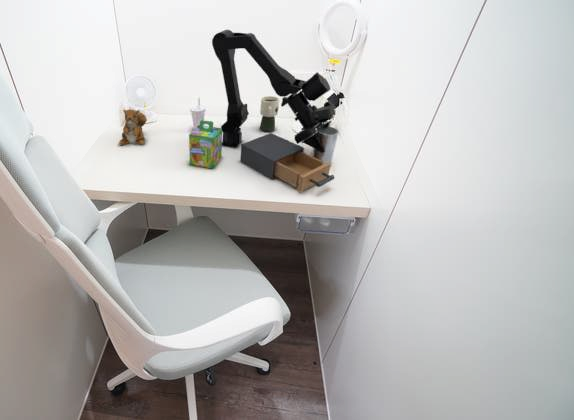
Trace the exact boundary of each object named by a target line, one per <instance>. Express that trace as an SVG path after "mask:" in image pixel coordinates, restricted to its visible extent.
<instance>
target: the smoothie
mask: <svg viewBox="0 0 574 420" xmlns="http://www.w3.org/2000/svg"><path fill="white" fill-rule="evenodd" d="M197 101H198V103H197V104H198V105H193V106H191V107H190V108H189V111H190V113H191V118H192V119H191V120H192V125H193V130H194V129H195V128H196V127H197V126H198V125H200V121H201V120H203V121H205V116H206V115H205V114H206V111H207V109H206V106H204V105H201V99H200V97H198V99H197Z"/></svg>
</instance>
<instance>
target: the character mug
mask: <svg viewBox="0 0 574 420" xmlns="http://www.w3.org/2000/svg"><path fill="white" fill-rule="evenodd" d="M279 106H280V98H279V97H277V96H272V95H267V96H262V97H261V101H260V111H259V114H260V115H261V120H260V125H259V130H262V131H265V132H274V131H275V130H276V116H278V114H279V108H280V107H279Z"/></svg>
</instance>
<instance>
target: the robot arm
mask: <svg viewBox="0 0 574 420" xmlns="http://www.w3.org/2000/svg"><path fill="white" fill-rule="evenodd" d="M211 45H212V48H213V51H214V54H215V57H216V58H217V59H218V61H219V62H220V65H221V72H222V77H223V82H224V88H225V94H226V98H227V109H226V121H225V122H224V123H223V124H222V125H221V126H220V128H221V129H222V146H223V147H229V148H235V149H237V148H238V147H239V146H240V144H242V142H243V140H242V139H243V132H242V127H241V126H242V125H243V124H244V123H246V121H247V120H248V116H249V115H250V112H249V110H248V103H243V101H242V99H241V93H240V87H239V82H238V75H237V69H236V63H235V56H236V55H235V54H236V50H237V49H239V50H240V49H244V50H245V51H246V52H247V53H248V54H249V56H250V57H251V58H252V59H253V61H254V62H255V63H257V65H258V66H259V68H261V70H262V71H263V73H264V74H265V75H266V76H267V77H268V81H269V82H270V86H271V87H272V89H273V91H274V92H275V94H276V95H277V96H278V97H282V98H281V105H280V106H281V107H282V108H283V107H285V106H286V105H288V106H289V108H290V110H291V111H292V113H293V114H294V116H295V117H294V121H295V122H297V121H298V122H299V124H300V125H301V126H302V128H301V129H300V131H299V132H297V133H296V134H295V135H294V139H293V140H294V141H295V144H297V145H299V144H300V143H301V144H304V145H306V146H308V147H311V148H312V149H313V148H314V149H316V150H318V151H319V152H321V153H324V152H325V150H324V147H323V145H322V143H321V141H320V139H319V137H318V136H319V131H318V132H316V131H317V128H319V127H323V126H328V127H331V123H332V119H333V118H334V116H335V115H336V110H335V109H336V108H337V106H336V105H335V103H333V102H332V101H331V100H329V101H326V102H324V104H323V106H321V107H318V106H316V105H314V104H313V105H311V103H310V102H315V101H317V100H318V99H320V98H321V97H323V95H325V94H327V93H328V92H330V91H331V86H330V82H328V80H327V79H326V78H324V76H322V75H321V74H320V73H319V71H318V72H315V73H314V74H313V75H312V76H311V77H310V78H309V79H307V80H302V79H299V78H296V77H295V76H294V75H293V74H292V73H291V72H289V71H288V70H287V69H285V68H283V67H281V66H280V65H279V64H278V63H277V62H276V61H275V59H274V58H273V56H272V55H271V54H270V52H268V51H267V49H266V48H265V47H264V46H263V45H262V43H261V41H259V40H258V39H257V37H256V35H255V34H254V33H252V32H248V33H245V32H234V31H232V30H231V29H224V30H221V31H219V32H218V33H216V34H215V35H214V36H213V37H212V39H211Z"/></svg>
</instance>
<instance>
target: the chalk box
mask: <svg viewBox="0 0 574 420" xmlns="http://www.w3.org/2000/svg"><path fill="white" fill-rule="evenodd" d="M188 137H189V138H188V144H189V145H188V147H189V165H191V166H197V167H202V168H207V169H211V170H213V169H214V168H215V167H216V166H217V165H218V164H219V161H220V160H221V158H222V150H223V149H222V146H223V145H222V142H223V132H222V129H221V127H215V126H214V122H213V121H212V120H204V121H203V120H201V121H200V125H198V126H197V127H196V128H195V129H194V128H193V130H192V131H191V133H190V134H188Z"/></svg>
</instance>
